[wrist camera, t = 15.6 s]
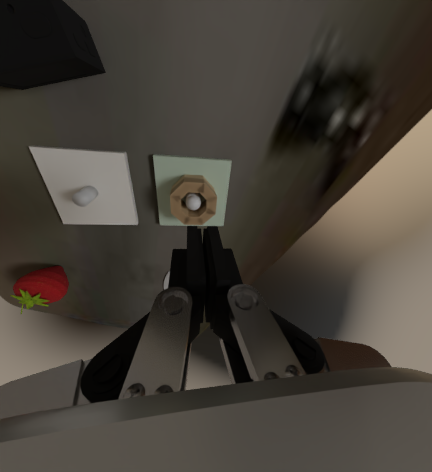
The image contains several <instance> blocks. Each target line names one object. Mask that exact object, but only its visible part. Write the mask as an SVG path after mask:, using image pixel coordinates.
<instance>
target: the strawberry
mask: <svg viewBox="0 0 432 472" xmlns="http://www.w3.org/2000/svg"><path fill="white" fill-rule="evenodd" d="M68 285H69V283H68V279H67V276H66V274H65V272H64V269H63V268H62V267H61V266H53V267H48V268H43V269H40V270H36V271H33V272H30V273H28V274H26V275H25V276H23V277H21V278H20V279H18V280H17V282H16V283H15V285H14V286H13V290H14V293H15V295H16V296H14V295H10V296H12V297H14V298H16V299H19V300H21V301H20V302H18V303H22V309H23V304H26V306H27V309H29V308H31V307H32V306H33V303H34V304H37V305H43V306H48V305H46V304H48V303H52V302H56V301H58V300H60V299H61V298H62V297H63V296H64V295H65V294H66V293H67V289H68ZM22 309H21V314H22Z"/></svg>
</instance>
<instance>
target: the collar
mask: <svg viewBox="0 0 432 472" xmlns="http://www.w3.org/2000/svg"><path fill="white" fill-rule="evenodd" d="M188 192H190V193H200V194H201V195H202V196H203V197H204V198H205V201H203V202H202V203H201V205H200V207H199V208H198V209H197V210H190V209H189V208H188V207H187V206H186V203H185V202H184V201H182V198H183V197H184V196H185V195H186V194H187V193H188ZM216 204H217V195H216V192H215V189H214V188H213V186H212V185H211V184H210V183H209V182H208V181H207V180H206V179H205V177H204V176H203V175H187V174H184V175H183V176H182V177H181V178H180V179H179V180H178V181H177V182H176V183H175V184H174V185H173V186H172V189H171V193H170V205H171V214H173V215H174V216H175V217H176V218H177V219H178V220H180V221H181V222H182V223H183V224H184V225H203V224H204V223H205V222H207V221H208V220H209V219H210V218H211V217H213V216H214V215H215V214H216Z"/></svg>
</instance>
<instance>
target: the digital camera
mask: <svg viewBox="0 0 432 472" xmlns="http://www.w3.org/2000/svg"><path fill="white" fill-rule="evenodd" d="M81 27H83V28H81ZM83 29H84V30H83ZM84 31H85V32H84ZM99 66H100V67H99ZM101 73H106V72H105V70H104V67H103V65H102V62H101V60H100V57H99V54H98V52H97V49H96V47H95V44H94V42H93V39H92V37H91V34H90V32H89V29H88V27H87V24H86V22H85V21H84V20H83V19H82V18H81V17H80V16H79V15H78V14H77V13H76V12H75V11H73V10H72V9H71V8H70V7H69V6H68V5H67V4H66V3H65V2H64V1H63V0H0V86H3V87H9V88H15V89H22V90H23V89H28V88H33V87H38V86H43V85H48V84H53V83H58V82H62V81H67V80H72V79H77V78H82V77H87V76H92V75H96V74H101Z"/></svg>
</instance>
